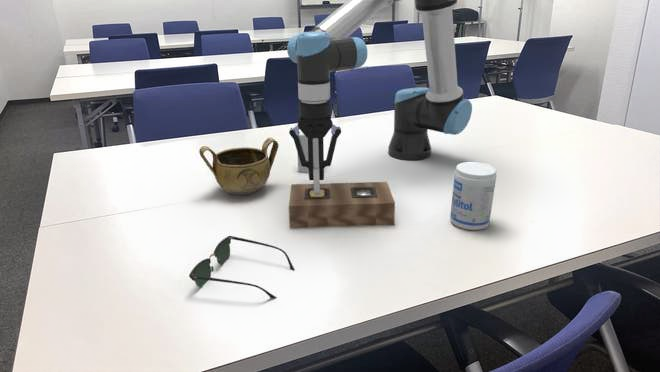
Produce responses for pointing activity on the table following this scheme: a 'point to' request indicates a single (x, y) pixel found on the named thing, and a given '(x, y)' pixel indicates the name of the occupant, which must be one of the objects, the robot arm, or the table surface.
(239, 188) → the ceramic bowl
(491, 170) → the supplement tub
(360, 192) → the steel peg
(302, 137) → the supplement box
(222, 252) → the sunglasses
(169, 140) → the table surface
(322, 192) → the brass peg
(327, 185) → the walnut block
